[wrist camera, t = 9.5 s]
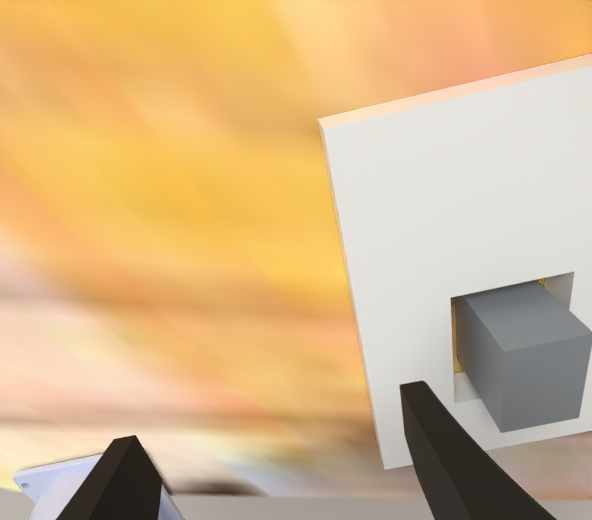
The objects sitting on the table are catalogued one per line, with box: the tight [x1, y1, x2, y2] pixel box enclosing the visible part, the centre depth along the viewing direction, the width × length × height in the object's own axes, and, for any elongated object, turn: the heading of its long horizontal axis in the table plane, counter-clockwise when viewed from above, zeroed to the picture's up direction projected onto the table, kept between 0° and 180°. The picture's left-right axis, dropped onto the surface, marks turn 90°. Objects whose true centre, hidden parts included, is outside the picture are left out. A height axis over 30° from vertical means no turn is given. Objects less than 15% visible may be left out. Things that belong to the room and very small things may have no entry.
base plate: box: [317, 54, 592, 470], centre depth 20 cm, size 20×14×2 cm
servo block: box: [455, 280, 592, 433], centre depth 19 cm, size 5×4×5 cm
